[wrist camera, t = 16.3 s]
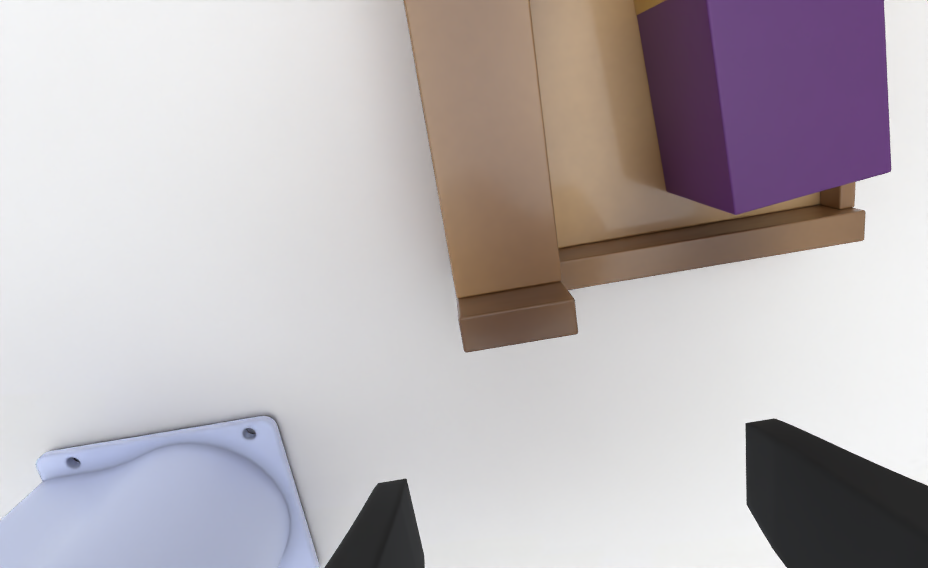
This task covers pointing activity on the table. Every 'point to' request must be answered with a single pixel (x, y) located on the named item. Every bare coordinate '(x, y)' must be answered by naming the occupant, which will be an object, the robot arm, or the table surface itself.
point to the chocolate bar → (766, 96)
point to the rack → (568, 166)
